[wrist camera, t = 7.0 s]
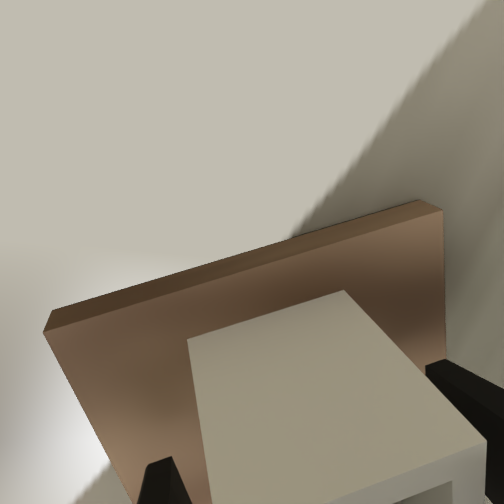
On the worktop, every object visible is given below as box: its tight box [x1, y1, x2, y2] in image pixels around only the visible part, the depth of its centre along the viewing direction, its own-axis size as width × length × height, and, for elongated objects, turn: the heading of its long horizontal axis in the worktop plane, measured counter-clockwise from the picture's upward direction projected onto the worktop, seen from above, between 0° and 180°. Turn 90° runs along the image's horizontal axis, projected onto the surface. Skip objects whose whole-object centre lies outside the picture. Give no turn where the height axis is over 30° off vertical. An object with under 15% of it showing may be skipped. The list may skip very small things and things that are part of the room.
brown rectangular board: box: [43, 200, 446, 504], centre depth 15 cm, size 18×12×4 cm, turn 12°
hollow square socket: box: [187, 290, 487, 504], centre depth 11 cm, size 5×5×6 cm
